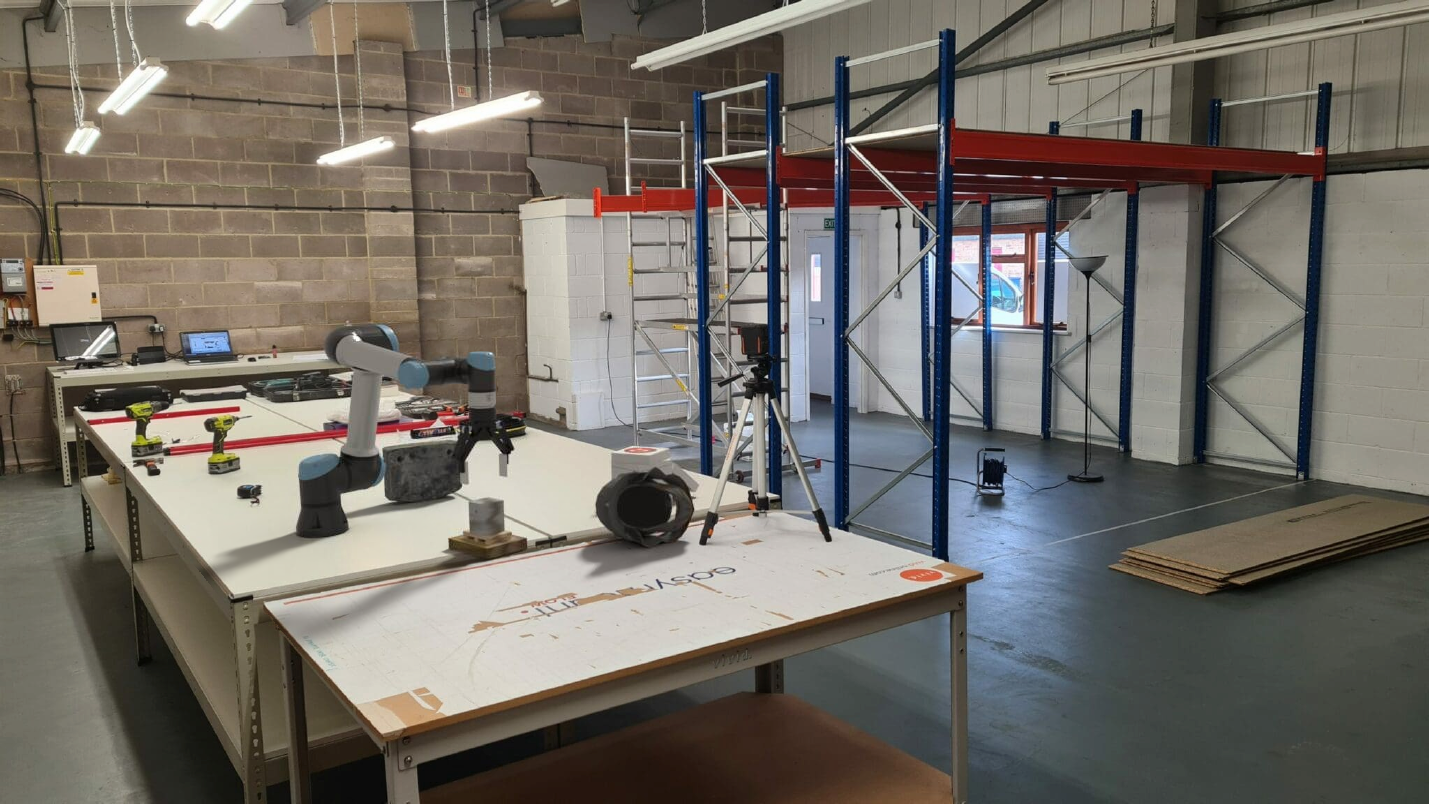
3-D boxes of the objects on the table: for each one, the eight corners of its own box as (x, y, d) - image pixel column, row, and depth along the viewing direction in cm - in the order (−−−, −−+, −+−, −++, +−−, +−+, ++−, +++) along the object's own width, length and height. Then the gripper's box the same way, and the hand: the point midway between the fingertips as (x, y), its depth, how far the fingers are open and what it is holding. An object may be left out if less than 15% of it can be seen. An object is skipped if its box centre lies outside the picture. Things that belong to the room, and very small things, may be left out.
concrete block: (455, 492, 358) (452, 438, 355) (464, 497, 350) (461, 441, 348) (381, 502, 342) (378, 446, 340) (388, 507, 335) (385, 449, 333)
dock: (487, 559, 271) (487, 548, 271) (448, 548, 283) (448, 538, 282) (527, 548, 282) (527, 537, 282) (488, 538, 293) (487, 528, 293)
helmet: (708, 470, 289) (665, 470, 310) (614, 462, 272) (574, 463, 293) (704, 550, 287) (660, 545, 307) (608, 547, 269) (569, 542, 290)
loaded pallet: (489, 544, 275) (487, 506, 274) (463, 537, 283) (461, 500, 281) (511, 538, 281) (510, 501, 280) (485, 532, 289) (484, 495, 288)
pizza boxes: (703, 496, 348) (702, 446, 346) (638, 510, 327) (637, 457, 324) (666, 488, 361) (666, 440, 359) (602, 502, 340) (601, 450, 338)
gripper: (453, 412, 265) (455, 489, 268) (525, 403, 285) (526, 474, 287) (437, 409, 270) (439, 485, 273) (508, 400, 289) (510, 471, 292)
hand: (484, 480), depth 280 cm, fingers open, 13 cm apart
